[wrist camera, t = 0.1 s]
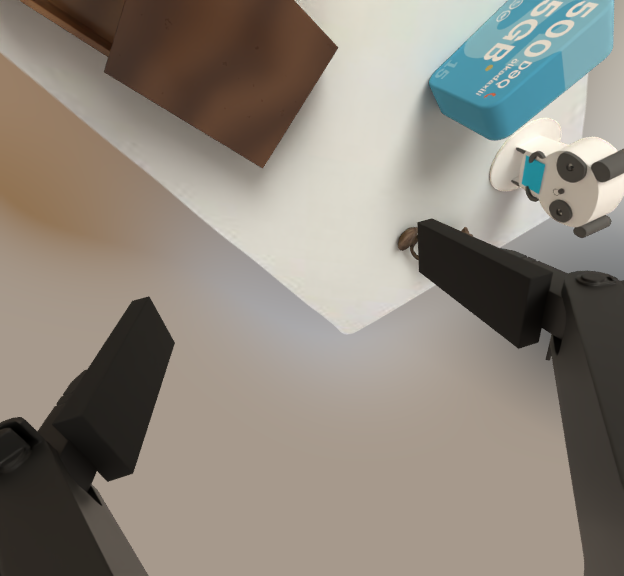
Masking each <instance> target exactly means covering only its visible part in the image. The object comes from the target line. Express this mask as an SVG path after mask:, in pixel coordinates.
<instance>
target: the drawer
mask: <svg viewBox="0 0 624 576" xmlns="http://www.w3.org/2000/svg"><path fill="white" fill-rule="evenodd" d="M19 1H21V2H23V3H24V4H26V5H27V6H29V7H30V8H32V9H34V10H35V11H37V12H38V13H40V14H41V15H43V16H44V17H46V18H48V19H49V20H51V21H52V22H54V23H55V24H57V25H59V26H60V27H62V28H63V29H65V30H66V31H68V32H70V33H71V34H73V35H74V36H76V37H77V38H79V39H81V40H82V41H84V42H85V43H87V44H88V45H90V46H92V47H93V48H95V49H96V50H98V51H99V52H101V53H103V54H104V55H106V56H107V57H109V53H110V50H111V46H112V43H113V40H114V36H115V33H116V29H117V26H118V22H119V19H120V16H121V12H122V9H123V5H124V2H125V0H19Z"/></svg>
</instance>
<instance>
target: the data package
mask: <svg viewBox="0 0 624 576" xmlns="http://www.w3.org/2000/svg"><path fill="white" fill-rule="evenodd" d="M613 30H614V0H508V1H507V2H506V3H505V4H504V5H503V6H502V7H501V8H500V9H499V10H498V11H497V12H496V13H495V14H494V15H492V16H491V17H490V18H489V19H488V20H487V21H486V22H485V23H484V24H483V25H482V26H481V27H480V28H479V29H478V30H477V31H476V32H475V33H474V34H473V35H472V36H471V37H470V38H469V39H468V40H467V41H466V42H465V43H464V44H463V45H462V46H461V47H460V48H459V49H458V50H457V51H456V52H455V53H454V54H453V55H451V56H450V57H449V58H448V59H447V60H446V61H445V62H444V63H443V64H442V65H441V66H440V67H439V68H438V69H437V70H436V71H435V72H434V73H433V75H432V76H431V78H430V80H429V86H430V88H431V90H432V92H433V95H434V97H435V99H436V101H437V103H438V106H439V108H440V110H441V112H442V114H444V115H446V116H447V117H449V118H451V119H453V120H455V121H456V122H458V123H460V124H462V125H464V126H465V127H467V128H469V129H471V130H473V131H474V132H476V133H478V134H480V135H482V136H483V137H485V138H487V139H489V140H501V139H504V138H506V137H508V136H510V135H512V134H513V133H514V132H516V131H517V130H518V129H519V128H521V127H522V126H523V125H524V124H525V123H527V122H528V121H529V120H530V119H532V118H533V117H534V116H535V115H537V114H538V113H539V112H540V111H541V110H543V109H544V108H545V107H546V106H548V105H549V104H550V103H551V102H553V101H554V100H555V99H556V98H557V97H559V96H560V95H561V94H562V93H564V92H565V91H566V90H567V89H569V88H570V87H571V86H572V85H573V84H575V83H576V82H577V81H578V80H580V79H581V78H582V77H583V76H585V75H586V74H587V73H588V72H590V71H591V70H592V69H593V68H594V67H596V66H597V65H598V64H599V63H600V62H602V61H603V60H604V59H605V58H606V57H607V56H608V55H609V54H610V53H611V51H612V49H613V32H614V31H613Z"/></svg>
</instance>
